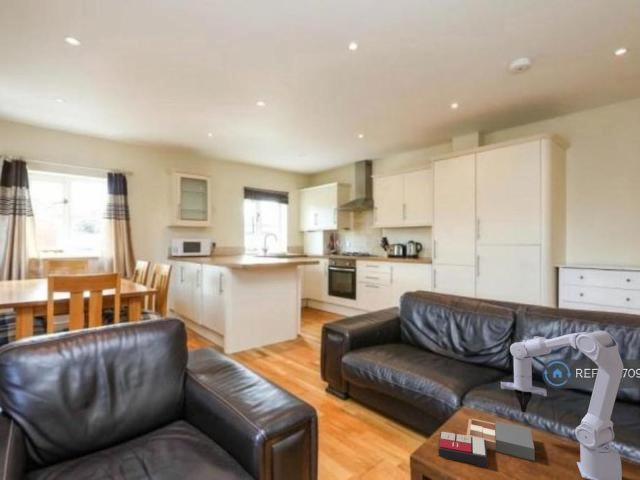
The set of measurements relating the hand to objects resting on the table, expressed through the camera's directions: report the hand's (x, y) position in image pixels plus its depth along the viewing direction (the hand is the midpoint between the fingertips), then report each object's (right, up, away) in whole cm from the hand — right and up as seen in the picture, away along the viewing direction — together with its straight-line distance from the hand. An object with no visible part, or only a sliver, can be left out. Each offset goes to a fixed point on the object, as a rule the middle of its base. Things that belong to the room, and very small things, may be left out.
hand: (523, 411), depth 123 cm
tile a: (-14, -9, -3) cm, 17 cm away
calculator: (-27, -10, -10) cm, 30 cm away
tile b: (-18, -6, 0) cm, 19 cm away
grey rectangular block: (-7, -9, -6) cm, 13 cm away
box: (-16, -9, -1) cm, 19 cm away
